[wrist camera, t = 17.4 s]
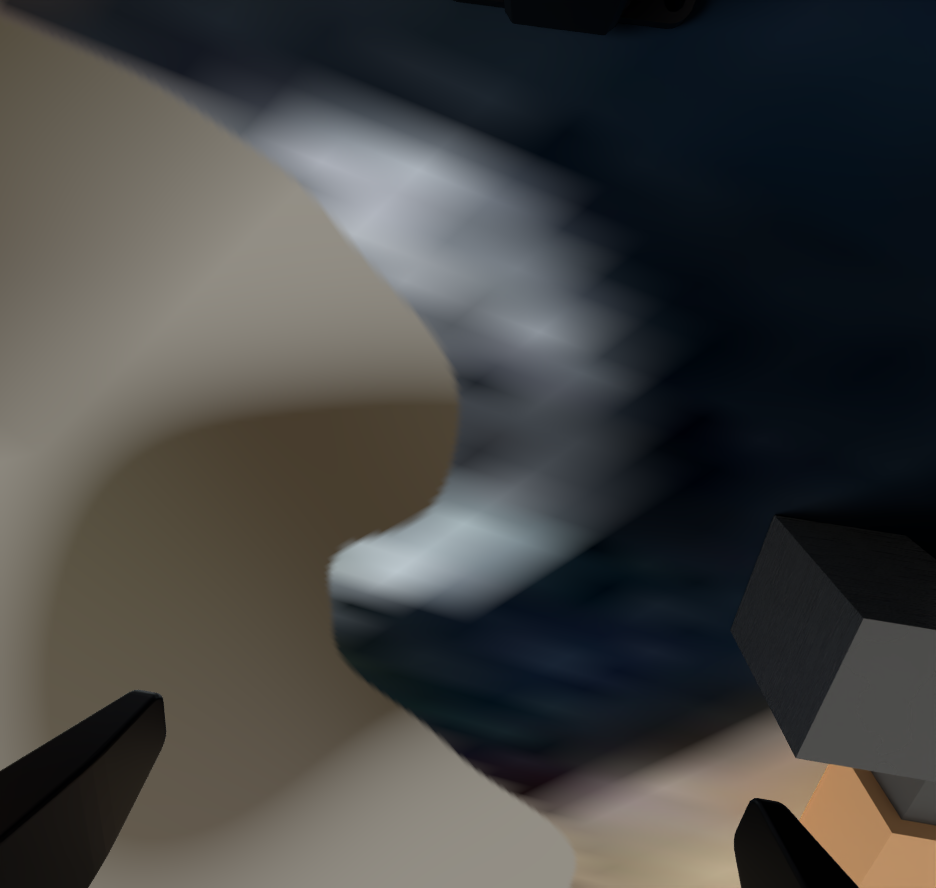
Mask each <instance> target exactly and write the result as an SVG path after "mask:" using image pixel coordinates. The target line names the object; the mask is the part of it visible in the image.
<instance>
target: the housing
mask: <svg viewBox="0 0 936 888" xmlns="http://www.w3.org/2000/svg"><path fill="white" fill-rule="evenodd" d="M730 631H731V633H732V634H733V636H734V638H735V640H736V642H737V644H738V646H739V648H740V650H741V652H742V654H743V656H744V658H745V660H746V662H747V664H748V666H749V668H750V670H751V672H752V674H753V675H754V677H755V679H756V681H757V683H758V685H759V687H760V689H761V691H762V693H763V695H764V697H765V699H766V701H767V703H768V705H769V707H770V709H771V711H772V713H773V715H774V716H775V718H776V720H777V722H778V724H779V726H780V728H781V730H782V732H783V734H784V736H785V738H786V740H787V742H788V744H789V746H790V748H791V750H792V752H793V754H794V756H795V758H798V759H804V760H810V761H816V762H822V763H827V764H833V765H839V766H845V767H851V768H856V769H862V770H868V771H874V772H880V773H886V774H891V775H897V776H903V777H909V778H915V779H921V780H926V781H932V782H936V559H934V558H933V557H932V556H931V555H929V554H928V553H927V552H926V551H924V550H923V549H922V548H921V547H920V546H918V545H917V544H916V543H915V542H913V541H912V540H911V539H910V538H908V537H907V536H904V535H898V534H892V533H885V532H879V531H872V530H866V529H860V528H853V527H847V526H841V525H834V524H828V523H822V522H815V521H809V520H803V519H796V518H790V517H783V516H777V515H774V517H773V520H772V522H771V525H770V528H769V530H768V533H767V536H766V538H765V541H764V543H763V546H762V549H761V551H760V554H759V557H758V559H757V562H756V564H755V567H754V570H753V572H752V575H751V578H750V580H749V583H748V585H747V588H746V591H745V593H744V596H743V599H742V601H741V604H740V607H739V609H738V612H737V614H736V617H735V620H734V622H733V625H732V628H731V630H730Z"/></svg>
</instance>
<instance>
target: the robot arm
mask: <svg viewBox="0 0 936 888" xmlns="http://www.w3.org/2000/svg"><path fill="white" fill-rule="evenodd" d="M453 1H456V2H463V3H471V4H478V5H486V6H494V7H502V8H505V12H506V14H507V15H508V17H509V19H510V20H511V22H512V23H514V24H521V25H529V26H537V27H544V28H552V29H560V30H567V31H575V32H583V33H591V34H598V35H606V34H607V33H608V32H609V31H610V30H611V29H613V28H614V27H615V26H616V24H617V22H618V23H626V24H633V25H641V26H649V27H657V28H664V29H668V28H674V27H676V26H678V25H680V24H681V23H682V22H683V21H684V20H685V18H686V17H687V16H688V15H689V13H690V12H691V11H692V8H693V6H694V3H695V0H681V8H680V10H678V11H676V12H671V11H669V10H667V9H666V7H665V5H664V0H453ZM165 737H166V724H165V713H164V702H163V698H162V696H161V695H160V694H158V693H155V692H149V691H143V690H134V691H131V692H129V693H127V694H125V695H124V696H122V697H120V698H119V699H118V700H116V701H114V702H112V703H111V704H109V705H107V706H106V707H104V708H103V709H101V710H99V711H98V712H96V713H94V714H93V715H92V716H89V717H88V718H86V719H85V720H83V721H81V722H79V723H78V724H77V725H75V726H73V727H71V728H70V729H68V730H66V731H65V732H63V733H62V734H60V735H58V736H57V737H55V738H53V739H52V740H50V741H48V742H47V743H45V744H43V745H42V746H40V747H39V748H37V749H35V750H34V751H32V752H30V753H29V754H27V755H26V756H24V757H22V758H21V759H19V760H17V761H16V762H14V763H12V764H11V765H9V766H7V767H6V768H4V769H2V770H1V771H0V888H88V887H89V886H90V884H91V882H92V881H93V879H94V877H95V876H96V874H97V873H98V871H99V869H100V867H101V866H102V864H103V862H104V861H105V859H106V857H107V855H108V854H109V852H110V850H111V848H112V846H113V844H114V842H115V840H116V838H117V837H118V835H119V833H120V831H121V829H122V827H123V825H124V823H125V821H126V819H127V817H128V815H129V813H130V811H131V809H132V807H133V805H134V803H135V801H136V799H137V797H138V795H139V793H140V791H141V789H142V787H143V785H144V783H145V781H146V779H147V777H148V775H149V773H150V771H151V769H152V767H153V765H154V763H155V761H156V759H157V757H158V755H159V753H160V751H161V749H162V747H163V744H164V741H165ZM734 851H735V857H736V862H737V868H738V873H739V878H740V884H741V888H859V887H858V886H857V885H856V883H855V882H854V881H853V880H852V879H851V878H850V877H849V876H848V875H847V873H846V872H845V871H844V870H843V869H842V868H841V867H840V866H839V865H838V863H837V862H836V861H835V860H834V859H833V858H832V857H831V856H830V855H829V854H828V852H827V851H826V850H825V849H824V848H823V847H822V846H821V845H820V844H819V842H818V841H817V840H816V839H815V838H814V837H813V836H812V835H811V834H810V832H809V831H808V830H807V829H806V828H805V827H804V826H803V825H802V824H801V822H800V821H799V820H798V819H797V818H796V817H795V816H794V815H793V814H792V812H791V811H790V810H789V809H788V808H787V807H786V806H784V805H783V804H782V803H780V802H776V801H771V800H765V799H760V798H754V799H753V800H751V801H750V802H749V804H748V806H747V808H746V810H745V813H744V815H743V817H742V819H741V821H740V823H739V826H738V828H737V830H736V833H735V837H734Z"/></svg>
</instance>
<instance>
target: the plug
mask: <svg viewBox="0 0 936 888" xmlns="http://www.w3.org/2000/svg"><path fill="white" fill-rule="evenodd" d="M799 821H800V822H801V824H802V825H803V826H804V827H805V828H806V829H807V830H808V831H809V832H810V834H811V835H812V836H813V837H814V838H815V839H816V840H817V841H818V842H819V844H820V845H821V846H822V847H823V848H824V849H825V850H826V851H827V852H828V854H829V855H830V856H831V857H832V858H833V859H834V860H835V861H836V862H837V863H838V865H839V866H840V867H841V868H842V869H843V870H844V871H845V872H846V873H847V875H848V876H849V877H850V878H851V879H852V880H853V881H854V882H855V883H856V885H857V886H858V887H859V888H936V782H932V781H926V780H921V779H915V778H909V777H903V776H897V775H891V774H886V773H880V772H874V771H868V770H862V769H856V768H851V767H845V766H839V765H833V764H829V765H828V766H827V768H826V770H825V772H824V774H823V776H822V778H821V780H820V782H819V784H818V786H817V788H816V789H815V791H814V793H813V795H812V797H811V799H810V801H809V803H808V805H807V807H806V809H805V810H804V812H803V814H802V816H801V818H800V820H799Z"/></svg>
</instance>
